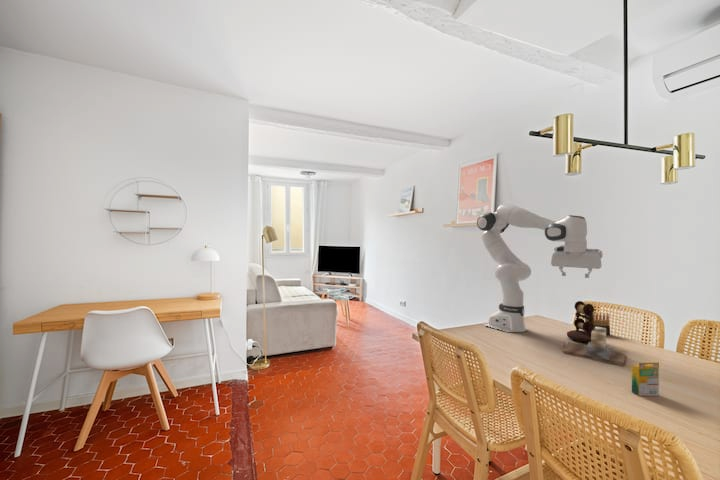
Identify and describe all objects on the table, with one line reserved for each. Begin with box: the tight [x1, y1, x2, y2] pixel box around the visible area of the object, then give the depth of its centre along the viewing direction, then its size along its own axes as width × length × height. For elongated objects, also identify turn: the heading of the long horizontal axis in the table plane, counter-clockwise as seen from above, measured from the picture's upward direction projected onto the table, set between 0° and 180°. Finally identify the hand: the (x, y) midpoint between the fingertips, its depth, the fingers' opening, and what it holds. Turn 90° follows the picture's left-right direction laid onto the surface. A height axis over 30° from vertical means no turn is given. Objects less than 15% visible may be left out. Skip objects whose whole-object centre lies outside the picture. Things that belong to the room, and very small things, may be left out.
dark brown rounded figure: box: [566, 300, 595, 344], centre depth 165 cm, size 15×15×20 cm
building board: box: [562, 327, 626, 367], centre depth 146 cm, size 22×16×11 cm
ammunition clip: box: [593, 312, 611, 336], centre depth 176 cm, size 11×2×12 cm, turn 77°
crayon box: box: [631, 361, 660, 397], centre depth 109 cm, size 7×3×12 cm, turn 92°
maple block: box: [591, 331, 607, 349], centre depth 141 cm, size 5×5×6 cm
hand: (575, 276), depth 153 cm, fingers open, 8 cm apart
